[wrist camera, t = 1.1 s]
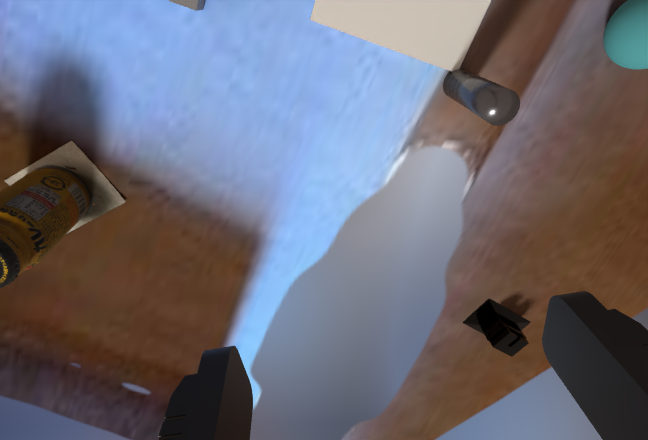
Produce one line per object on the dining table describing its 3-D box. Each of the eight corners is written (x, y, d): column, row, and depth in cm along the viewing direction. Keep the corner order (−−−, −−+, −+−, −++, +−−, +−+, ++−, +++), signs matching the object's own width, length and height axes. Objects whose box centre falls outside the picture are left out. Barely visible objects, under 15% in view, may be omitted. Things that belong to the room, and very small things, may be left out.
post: (451, 64, 35) (495, 84, 27) (476, 73, 36) (526, 95, 28) (438, 93, 36) (477, 119, 28) (462, 101, 37) (507, 129, 29)
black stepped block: (544, 319, 53) (564, 345, 49) (504, 351, 56) (520, 378, 52) (481, 283, 49) (498, 308, 45) (442, 319, 52) (454, 346, 48)
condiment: (5, 179, 38) (-104, 249, 27) (72, 139, 36) (-16, 197, 26) (63, 235, 41) (-15, 315, 31) (126, 200, 40) (67, 272, 29)
